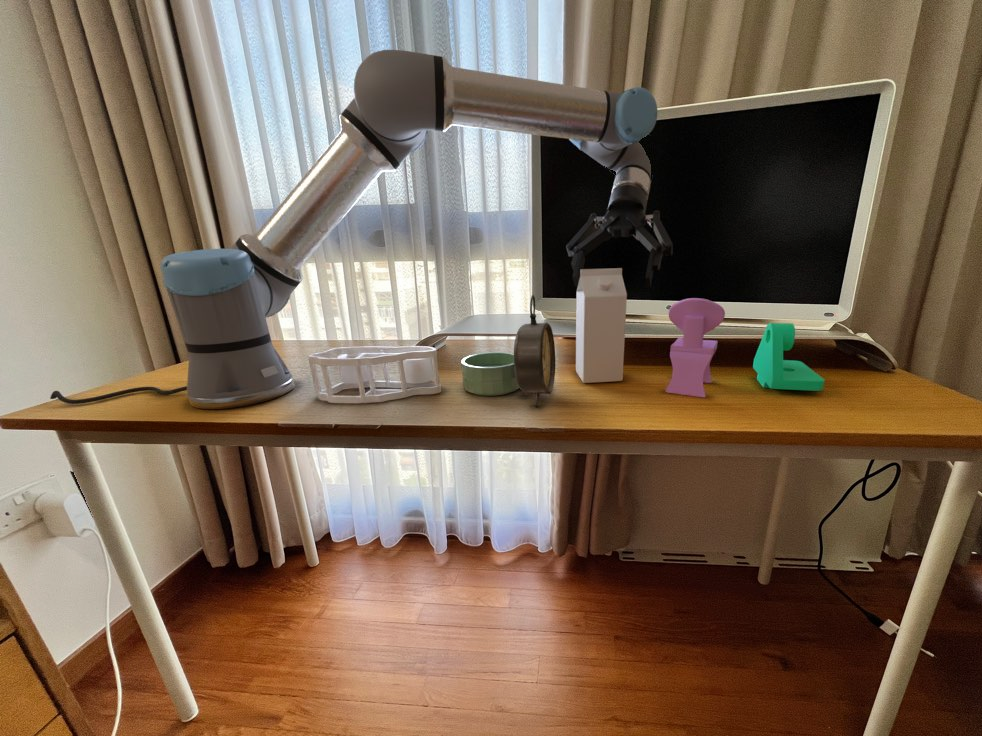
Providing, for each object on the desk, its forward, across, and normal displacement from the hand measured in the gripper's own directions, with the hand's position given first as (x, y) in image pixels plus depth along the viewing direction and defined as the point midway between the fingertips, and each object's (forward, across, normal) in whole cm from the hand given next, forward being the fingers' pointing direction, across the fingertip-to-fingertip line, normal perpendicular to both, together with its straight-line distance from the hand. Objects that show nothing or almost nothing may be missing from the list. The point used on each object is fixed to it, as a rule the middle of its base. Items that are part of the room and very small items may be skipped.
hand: (610, 282), depth 79 cm
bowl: (+24, +16, +2) cm, 29 cm away
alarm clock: (+27, +7, +4) cm, 28 cm away
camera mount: (+13, -31, -10) cm, 35 cm away
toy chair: (+18, -16, -5) cm, 24 cm away
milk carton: (+17, 0, -6) cm, 18 cm away
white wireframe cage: (+30, +33, +7) cm, 45 cm away
